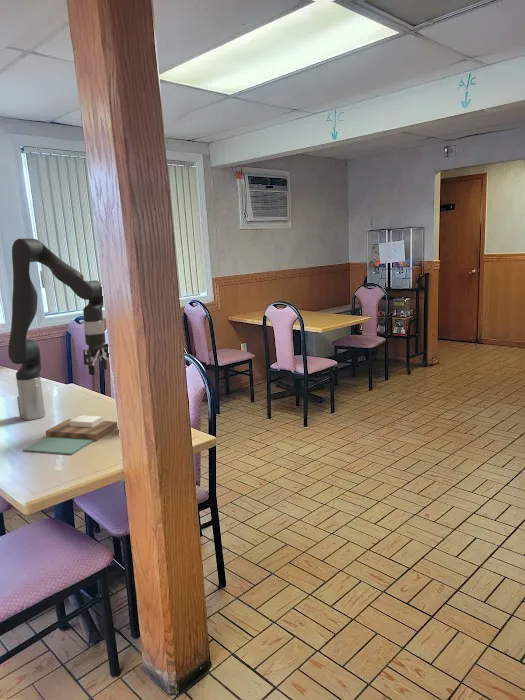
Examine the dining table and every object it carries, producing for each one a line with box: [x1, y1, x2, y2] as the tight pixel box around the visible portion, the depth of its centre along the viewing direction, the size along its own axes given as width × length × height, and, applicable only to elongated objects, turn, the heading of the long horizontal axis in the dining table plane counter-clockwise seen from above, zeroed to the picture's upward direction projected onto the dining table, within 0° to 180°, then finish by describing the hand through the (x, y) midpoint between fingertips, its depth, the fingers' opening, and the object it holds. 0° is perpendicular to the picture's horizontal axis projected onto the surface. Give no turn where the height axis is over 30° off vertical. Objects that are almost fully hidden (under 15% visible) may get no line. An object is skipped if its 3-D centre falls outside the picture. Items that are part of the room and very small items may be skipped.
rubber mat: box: [22, 436, 95, 456], centre depth 185 cm, size 20×13×1 cm, turn 74°
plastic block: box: [69, 415, 104, 427], centre depth 201 cm, size 10×7×2 cm
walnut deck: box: [45, 418, 119, 442], centre depth 198 cm, size 22×14×2 cm, turn 74°
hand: (98, 372), depth 206 cm, fingers open, 8 cm apart
